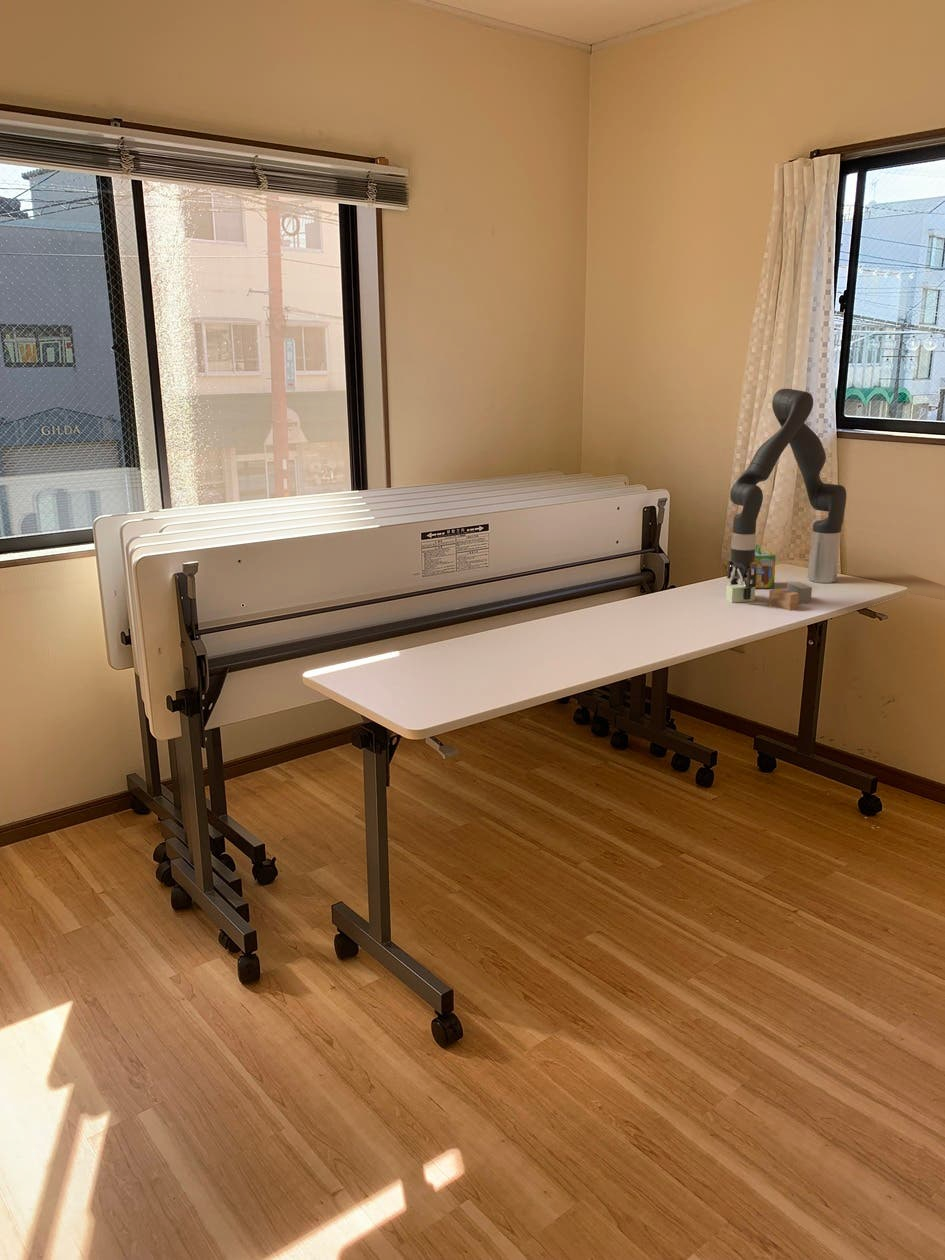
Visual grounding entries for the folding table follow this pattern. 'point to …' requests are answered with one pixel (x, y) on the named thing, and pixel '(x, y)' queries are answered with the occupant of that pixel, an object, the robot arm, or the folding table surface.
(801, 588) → the charcoal brick
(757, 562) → the chalk box
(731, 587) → the sage brick
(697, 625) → the folding table surface
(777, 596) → the walnut brick
